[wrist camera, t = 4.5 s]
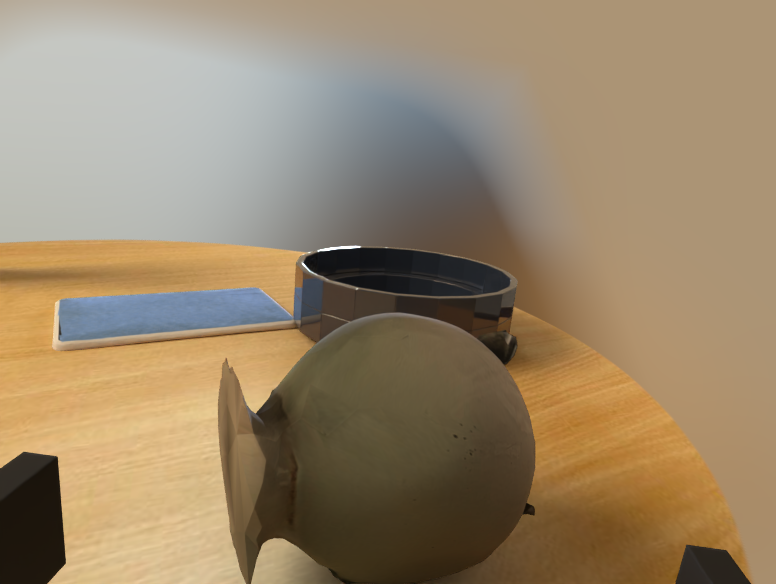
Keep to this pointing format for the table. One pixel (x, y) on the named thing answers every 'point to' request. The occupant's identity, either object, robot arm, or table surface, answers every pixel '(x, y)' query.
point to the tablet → (164, 317)
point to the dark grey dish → (399, 289)
